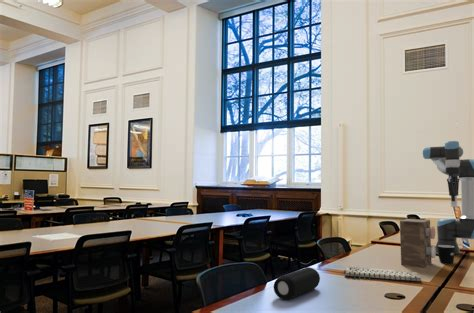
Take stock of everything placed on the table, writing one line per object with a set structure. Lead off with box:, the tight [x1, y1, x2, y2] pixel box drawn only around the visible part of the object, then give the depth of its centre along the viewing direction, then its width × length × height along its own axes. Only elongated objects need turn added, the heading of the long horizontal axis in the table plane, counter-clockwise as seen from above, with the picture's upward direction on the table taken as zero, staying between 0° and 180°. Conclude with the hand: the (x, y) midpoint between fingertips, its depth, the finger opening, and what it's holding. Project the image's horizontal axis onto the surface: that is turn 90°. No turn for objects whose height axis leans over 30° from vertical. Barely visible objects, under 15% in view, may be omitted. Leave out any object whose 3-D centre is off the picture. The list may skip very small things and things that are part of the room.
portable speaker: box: [273, 267, 321, 301], centre depth 173 cm, size 26×10×10 cm, turn 139°
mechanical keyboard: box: [343, 266, 422, 284], centre depth 203 cm, size 38×19×3 cm, turn 73°
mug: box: [437, 245, 455, 265], centre depth 236 cm, size 12×9×10 cm
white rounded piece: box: [426, 244, 437, 259], centre depth 230 cm, size 7×12×7 cm, turn 51°
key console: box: [399, 218, 432, 269], centre depth 233 cm, size 16×13×26 cm
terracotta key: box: [426, 225, 436, 240], centre depth 231 cm, size 7×12×7 cm, turn 51°
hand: (454, 206), depth 230 cm, fingers closed
